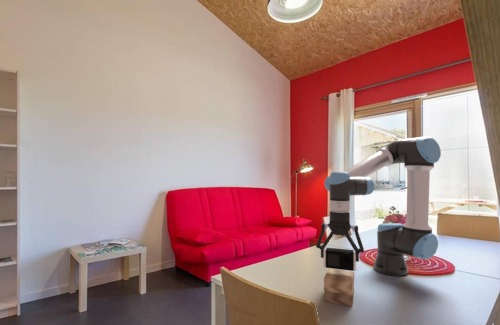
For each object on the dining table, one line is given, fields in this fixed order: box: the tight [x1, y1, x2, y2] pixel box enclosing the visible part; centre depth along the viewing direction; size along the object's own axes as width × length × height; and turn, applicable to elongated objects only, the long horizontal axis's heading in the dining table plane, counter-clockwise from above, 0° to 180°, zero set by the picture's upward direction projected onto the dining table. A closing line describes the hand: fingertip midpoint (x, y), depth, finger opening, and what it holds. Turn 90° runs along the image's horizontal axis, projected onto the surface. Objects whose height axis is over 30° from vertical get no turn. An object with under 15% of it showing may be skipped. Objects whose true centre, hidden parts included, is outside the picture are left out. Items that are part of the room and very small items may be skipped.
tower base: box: [324, 286, 355, 307], centre depth 112 cm, size 10×12×4 cm
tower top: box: [323, 268, 355, 295], centre depth 112 cm, size 10×12×4 cm
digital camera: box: [325, 247, 355, 272], centre depth 112 cm, size 10×5×7 cm, turn 70°
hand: (339, 267), depth 112 cm, fingers closed on digital camera, 10 cm apart
